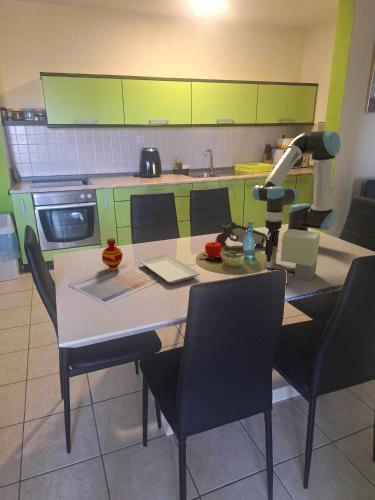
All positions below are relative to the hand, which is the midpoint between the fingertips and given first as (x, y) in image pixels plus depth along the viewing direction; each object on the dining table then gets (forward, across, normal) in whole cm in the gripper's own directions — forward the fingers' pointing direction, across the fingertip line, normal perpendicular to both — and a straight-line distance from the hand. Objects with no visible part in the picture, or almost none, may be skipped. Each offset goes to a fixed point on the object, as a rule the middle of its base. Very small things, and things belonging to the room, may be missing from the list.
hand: (270, 265), depth 170 cm
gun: (+1, -24, -27) cm, 36 cm away
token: (+1, +16, +11) cm, 19 cm away
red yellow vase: (+1, +43, -65) cm, 78 cm away
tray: (+1, +32, -39) cm, 51 cm away
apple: (+1, +2, -31) cm, 31 cm away
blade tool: (0, 0, +5) cm, 6 cm away
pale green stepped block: (+1, +2, +14) cm, 14 cm away
